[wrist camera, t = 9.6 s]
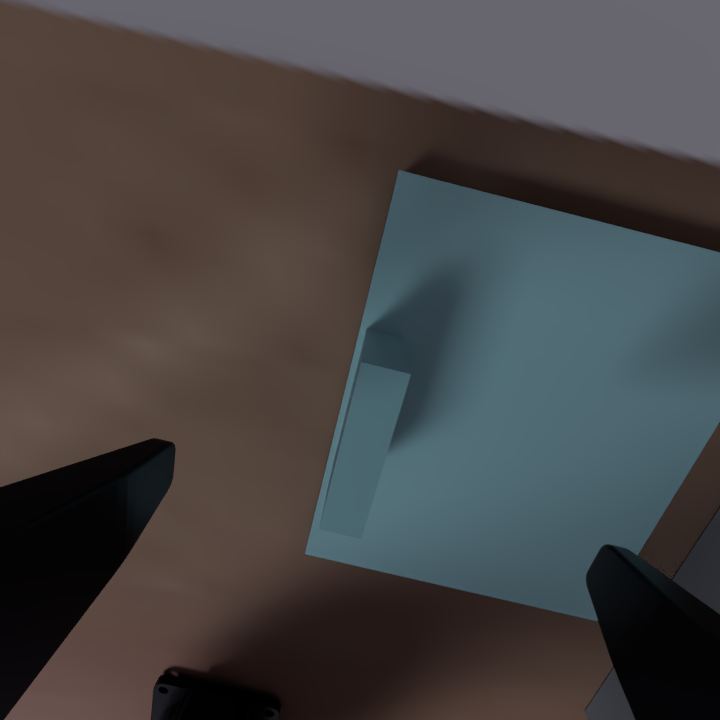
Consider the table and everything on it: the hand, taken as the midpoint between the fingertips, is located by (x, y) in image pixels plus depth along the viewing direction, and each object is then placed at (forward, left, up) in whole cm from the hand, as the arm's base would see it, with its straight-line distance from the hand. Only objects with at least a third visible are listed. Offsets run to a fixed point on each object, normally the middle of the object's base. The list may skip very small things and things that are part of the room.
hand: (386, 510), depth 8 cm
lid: (0, -5, -7) cm, 8 cm away
